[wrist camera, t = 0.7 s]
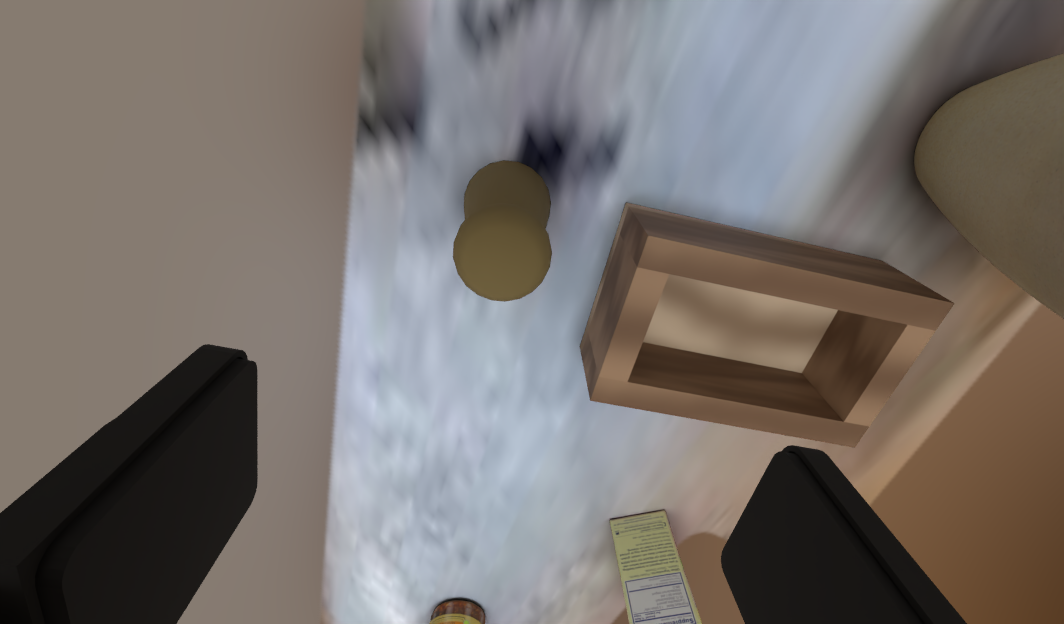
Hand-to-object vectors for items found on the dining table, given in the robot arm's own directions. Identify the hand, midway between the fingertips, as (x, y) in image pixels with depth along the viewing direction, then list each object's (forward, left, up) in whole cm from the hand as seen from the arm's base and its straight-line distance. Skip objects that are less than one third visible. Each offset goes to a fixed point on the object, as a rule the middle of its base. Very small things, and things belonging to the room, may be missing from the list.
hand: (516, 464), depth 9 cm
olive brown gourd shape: (+3, 0, -28) cm, 28 cm away
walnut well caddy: (+7, +18, -28) cm, 33 cm away
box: (+35, +21, -28) cm, 49 cm away
